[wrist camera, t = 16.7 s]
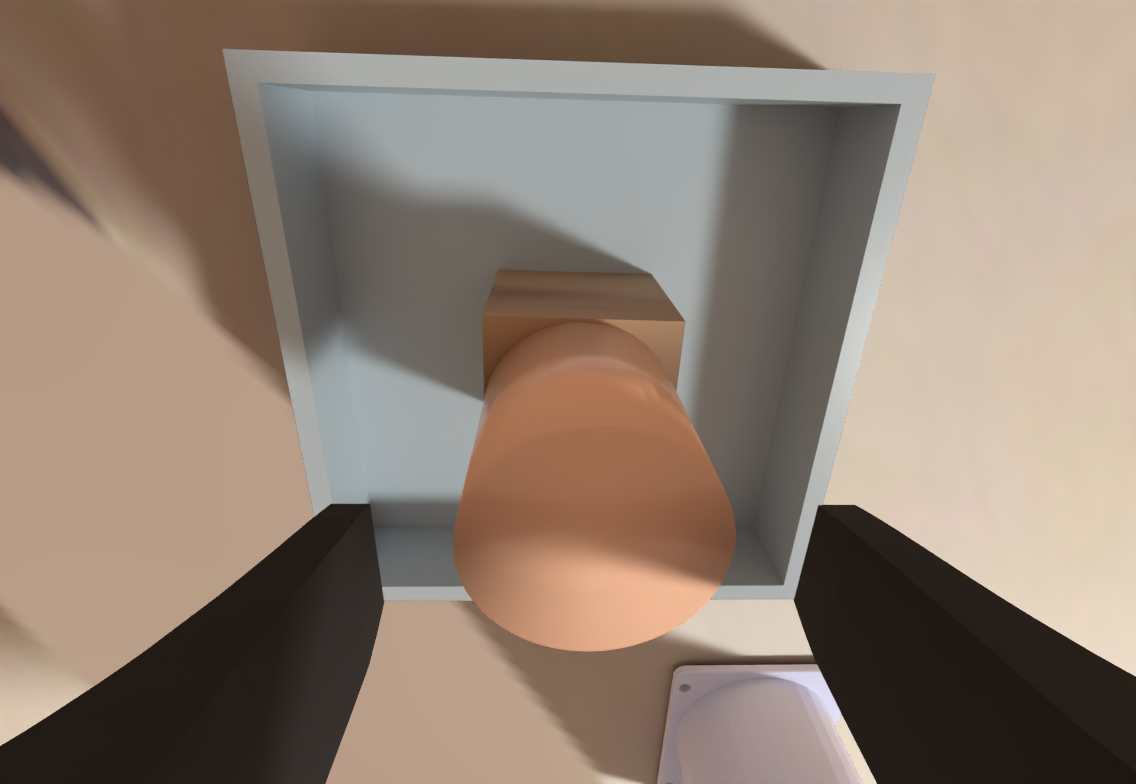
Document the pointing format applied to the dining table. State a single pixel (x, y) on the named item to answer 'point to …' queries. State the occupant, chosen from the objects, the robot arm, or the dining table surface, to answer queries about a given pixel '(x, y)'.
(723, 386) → the tote
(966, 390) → the dining table surface
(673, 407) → the peach rounded capsule
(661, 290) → the walnut block
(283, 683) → the robot arm
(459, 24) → the dining table surface
